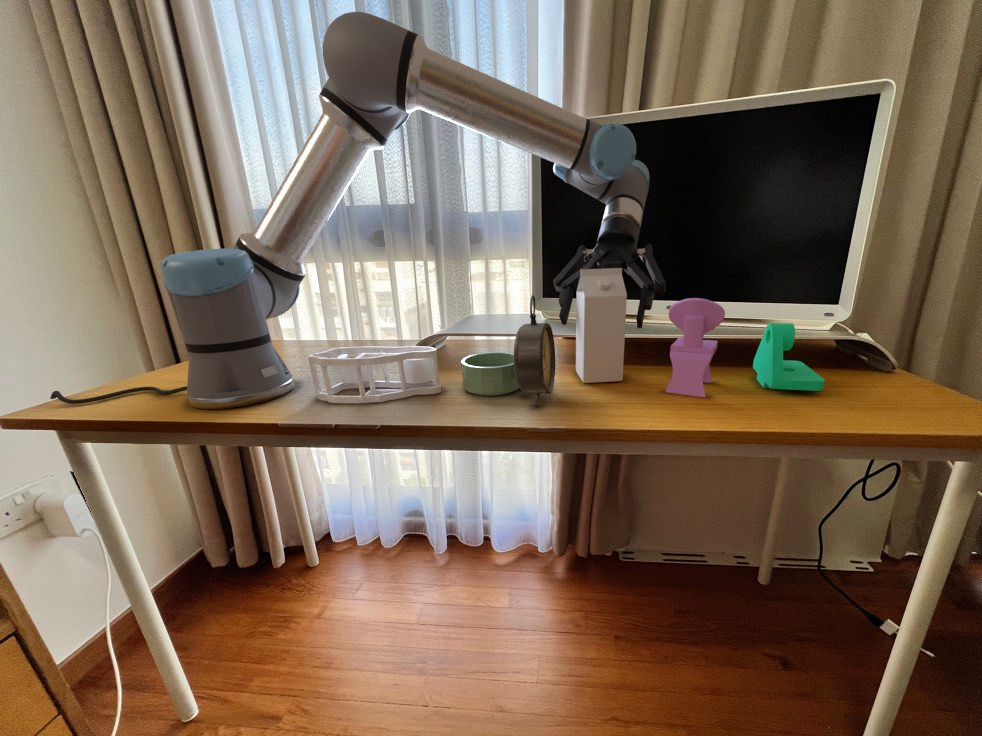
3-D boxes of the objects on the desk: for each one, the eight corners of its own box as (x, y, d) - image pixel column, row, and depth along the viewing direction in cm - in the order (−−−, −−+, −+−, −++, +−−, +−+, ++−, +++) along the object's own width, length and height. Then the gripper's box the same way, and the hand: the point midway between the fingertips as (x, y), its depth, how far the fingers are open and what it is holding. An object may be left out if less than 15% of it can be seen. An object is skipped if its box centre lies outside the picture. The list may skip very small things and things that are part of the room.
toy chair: (718, 382, 74) (730, 293, 69) (712, 398, 67) (725, 300, 61) (670, 376, 78) (677, 292, 72) (658, 391, 71) (666, 298, 65)
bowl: (452, 393, 72) (449, 365, 70) (481, 376, 81) (479, 350, 79) (507, 400, 68) (506, 370, 67) (531, 381, 77) (530, 354, 75)
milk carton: (575, 372, 82) (576, 268, 75) (612, 370, 82) (616, 266, 75) (583, 384, 75) (584, 270, 68) (622, 381, 76) (628, 269, 69)
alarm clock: (545, 411, 64) (543, 300, 58) (510, 409, 65) (504, 299, 59) (557, 387, 74) (556, 290, 68) (526, 386, 75) (523, 290, 69)
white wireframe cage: (449, 382, 78) (445, 342, 75) (429, 404, 67) (424, 359, 65) (344, 381, 79) (336, 342, 77) (309, 403, 69) (299, 359, 66)
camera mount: (823, 397, 66) (838, 331, 62) (769, 395, 68) (781, 330, 64) (797, 374, 77) (809, 317, 73) (751, 373, 79) (761, 316, 75)
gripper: (687, 243, 81) (673, 337, 74) (562, 245, 90) (538, 330, 82) (688, 211, 75) (674, 311, 67) (554, 217, 83) (527, 306, 76)
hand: (599, 322), depth 75 cm, fingers open, 13 cm apart
